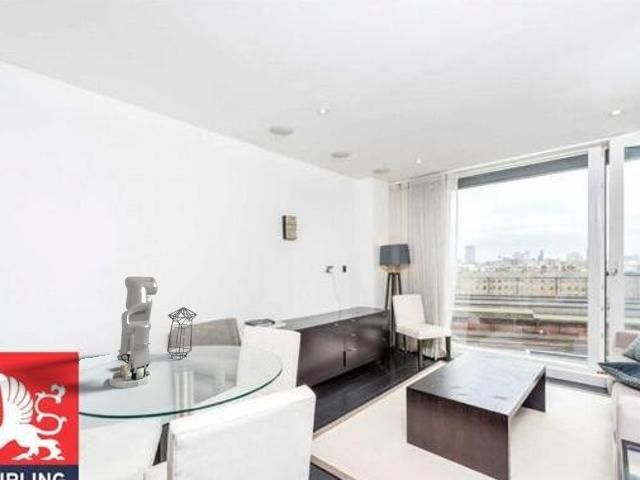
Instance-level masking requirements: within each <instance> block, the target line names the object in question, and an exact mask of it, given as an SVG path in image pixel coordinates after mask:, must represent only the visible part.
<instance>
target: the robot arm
mask: <svg viewBox="0 0 640 480" xmlns="http://www.w3.org/2000/svg"><path fill="white" fill-rule="evenodd" d="M124 285H125V288H126V291H127V292H126V299H125V308H126V310H125V311H124V312H123V313H122V314H121V336H120V345H119V347H120V348H119V349H118V350H117V352H118V354H117V355H116V359H117V360H122V358H123V359H124V360H125V361H128V357H127V355H123V354H127V353H128V352H129V351H131V353H130V357H129V365H128V367H127V368H126V369H127V370H129V371H130V372H132V375H131V379H132V380H136V374H137V373H136V370H137V367H144V374H143V377H145V371H146V369H147V370H148V367H149V365H151V363H152V361H151V358H150V353H151V352H150V347H149V345H150V344H151V343H150V341H149V340H150V331H151V329H152V323H151V322H150V321H151V314H152V309H153V308H152V307H153V298H152V297H151V296H155V295H157V293H158V290H159V289H158V283H157V280H156V279H155V277H153V276H127V277H126V278H125V280H124ZM122 355H123V356H122ZM121 356H122V358H121ZM122 361H123V360H122ZM131 366H132V369H131Z"/></svg>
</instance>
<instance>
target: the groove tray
mask: <svg viewBox="0 0 640 480" xmlns="http://www.w3.org/2000/svg"><path fill="white" fill-rule="evenodd" d="M119 375H120V370H118V371H115V372H113V373H112V374H110V375H109V381H108V383H109V384H108V385H109V386H111V387H113V386H114V387H113V388H116V387H117V388H118V389H120V388H121V389H128V388H135V387H140V386H144V385H145V384H146V385H147V384H149V383H150V381H152V378H153V377H152V376H153V373H152V370H149V369H148V368H147V369H146V371H145V377H143V379H141V380H132V379H131V375H132V372H129V374H126V375H125V378H121V377H119Z"/></svg>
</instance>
